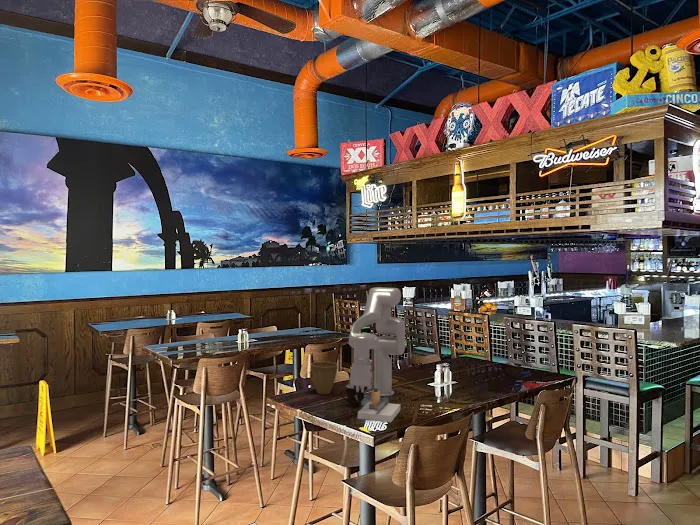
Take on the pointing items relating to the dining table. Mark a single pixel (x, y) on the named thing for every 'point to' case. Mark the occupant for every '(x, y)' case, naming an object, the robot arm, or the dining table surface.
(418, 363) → the dining table surface
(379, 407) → the clip
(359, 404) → the coffee mug
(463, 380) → the dining table surface
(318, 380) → the plant pot
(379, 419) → the socket board
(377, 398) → the plug
